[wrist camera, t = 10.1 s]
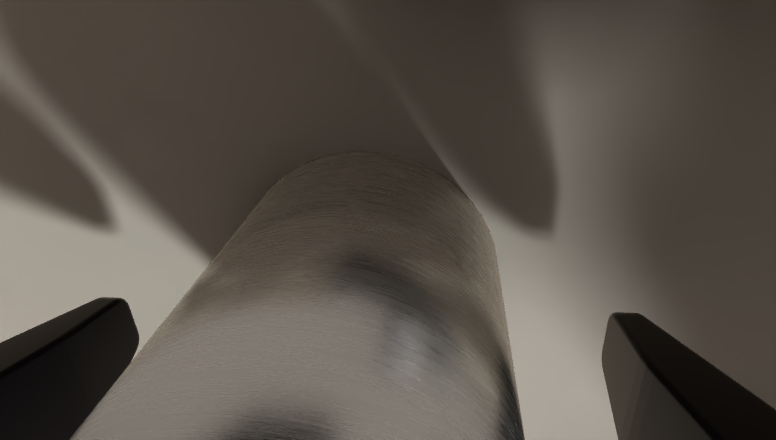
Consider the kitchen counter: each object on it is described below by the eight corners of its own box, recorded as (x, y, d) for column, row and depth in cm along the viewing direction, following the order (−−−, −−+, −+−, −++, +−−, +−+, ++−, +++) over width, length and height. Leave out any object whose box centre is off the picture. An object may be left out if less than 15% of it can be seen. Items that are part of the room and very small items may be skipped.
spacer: (491, 371, 11) (531, 771, 5) (268, 361, 11) (107, 713, 6) (504, 149, 8) (594, 468, 3) (223, 152, 9) (-98, 421, 4)
